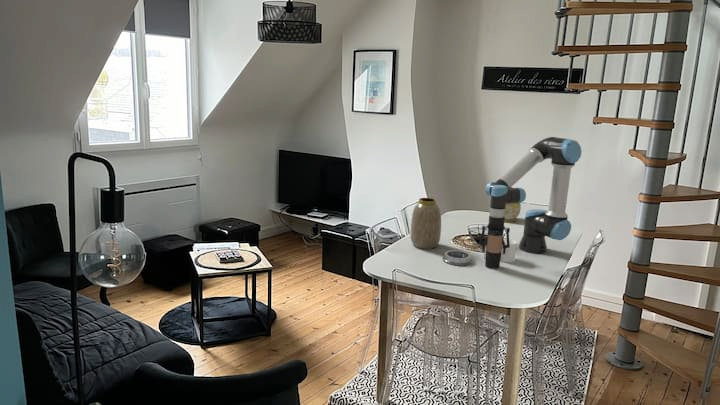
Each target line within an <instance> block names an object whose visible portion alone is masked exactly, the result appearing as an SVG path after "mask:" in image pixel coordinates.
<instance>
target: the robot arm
mask: <svg viewBox="0 0 720 405" xmlns="http://www.w3.org/2000/svg"><path fill="white" fill-rule="evenodd" d="M581 156H582V147H581V144H580V143H579V142H578V141H576V140H575V139H571V138H561V137H557V136H550V137H546V138H542V140H540V141H538V142H536V143H535V144H534V145H533V146H531V147H530V148H529V149H528V152H527V153H525V155H524V156H523V157H522V158H520V160H518V161H517V162H516V163H515V164H514V165H513V166H512V167H510V168H509V170H508V171H506V172H504V174H502V176H501V177H499V178H498V179H497V180H496V181H495V182H494V181H492V182H491V181H490V182H488V183H487V184H486V185H485V188H484V189H485V194H486V195H487V196H489V197H490V204H489V205H490V206H489V217H488V224H487V225H482V226H481V230H482V231H481V234H480V238H479V243H478V244H479V246H482V249H481V250H482V253H483V255H484V256H483V260H486V246H487V240H488V234H487V235H486V237H485V238H484V236H485V232H486V230H487V229H489V230H491V231H494V230H495V231H503V232H504V233H505V234H506V239H507V245H505V242H504V239H505V238H504V236H503V237H502V245H503V247H502V251H501V261H502V257H503V254H505V251H506V248H509V247H510V244H509V239H510V231H511V228H510V227H506V226H505V222H504V219H505V218H504V216H505V209H506V204H510V203H519V202H521V203H523V202H524V201H525V200H526V197H527V193H526V191H525V189H524V188H523V187H513V186H514V185H515V184H516V183H518V182H519V181H520V180H521V179H522V178H523V177H524V176H525V175H526V174H527V173H528V172H530V171H531V170H532V169H534V167H535V166H536V165H538V163H542V162H543V161H545V160H548V159H551V162H550V164H551V165H552V166H553V172H552V179H551V188H550V195H549V196H550V197H549V202H548V204H549V205H548V210H546V209H536V208H535V209H529V210H526V211H525V216H524V225H523V234H522V237H521V239H520V241H519V243H518V248H519V249H520V250H521V251H523V252H527V253H530V254H531V253H532V254H533V253H534V254H543V253H547V250H548V249H547V248H548V246H547V242H546V237H548V238H550V239H552V240H557V241H563V240H564V239H566V238H567V237H568V236H569V235H570V233H571V230H572V224H571V221H570V220H569V219H568V218H569V216H568V214H567V213H566V210H567V202H568V194H569V187H570V180H571V170H572V168H573V167H575V165H576V163H577V162H578V161H580V159H581ZM483 240H484V241H483Z"/></svg>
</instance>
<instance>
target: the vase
mask: <svg viewBox="0 0 720 405" xmlns="http://www.w3.org/2000/svg"><path fill="white" fill-rule="evenodd" d="M441 211H442V210H441V208H440V206H439V205H438V204H437V199H435V198H433V197H420V198H419V199H418V203H417V204H416V205H414V208H413V210H412V215H411V219H410V220H411V221H410V222H411V223H410V242H411V243H412V245H413V246H414V247H416V248H418V249H426V250H429V249H430V250H431V249H434V248H437V247H438V246H439V243H440V241H441V234H442V212H441Z"/></svg>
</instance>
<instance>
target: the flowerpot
mask: <svg viewBox="0 0 720 405" xmlns="http://www.w3.org/2000/svg"><path fill="white" fill-rule="evenodd" d="M521 203H522V202H519V203H510V204H506V209H505V216H504V218H505V219H504V223H513V222H516V220H517V217H519V215H520V214H521V209H522V208H521V206H522V205H521Z"/></svg>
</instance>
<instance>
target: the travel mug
mask: <svg viewBox="0 0 720 405" xmlns="http://www.w3.org/2000/svg"><path fill="white" fill-rule="evenodd" d="M487 229H488V228H487ZM487 235H488V240H487V243H486V245H487V246H486V257H485V261H484V262H485V264H484V266H485V267H486V268H487V269H491V270H498V269H500V266H501V265H500V264H501V262H500V259H501V251H502V237H503V238H504V230H503V231H495V230H494V231H491V230H489V229H488V230H487Z"/></svg>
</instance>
